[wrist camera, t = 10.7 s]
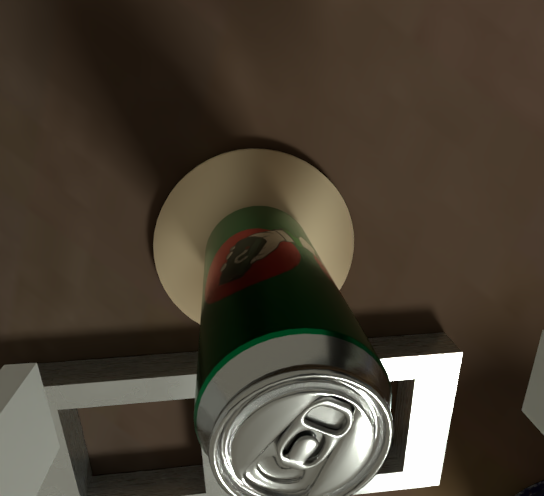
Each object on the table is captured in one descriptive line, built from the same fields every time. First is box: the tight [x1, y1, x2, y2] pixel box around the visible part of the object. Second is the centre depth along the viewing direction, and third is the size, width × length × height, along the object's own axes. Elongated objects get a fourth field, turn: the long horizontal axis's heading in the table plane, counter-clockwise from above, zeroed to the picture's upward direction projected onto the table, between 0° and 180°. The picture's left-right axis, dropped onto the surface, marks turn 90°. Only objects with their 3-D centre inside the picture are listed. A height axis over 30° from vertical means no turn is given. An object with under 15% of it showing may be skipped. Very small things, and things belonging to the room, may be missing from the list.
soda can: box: [194, 206, 394, 496], centre depth 15 cm, size 5×5×12 cm
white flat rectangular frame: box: [36, 332, 463, 496], centre depth 24 cm, size 24×10×2 cm, turn 91°
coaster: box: [153, 148, 354, 324], centre depth 21 cm, size 10×10×1 cm
